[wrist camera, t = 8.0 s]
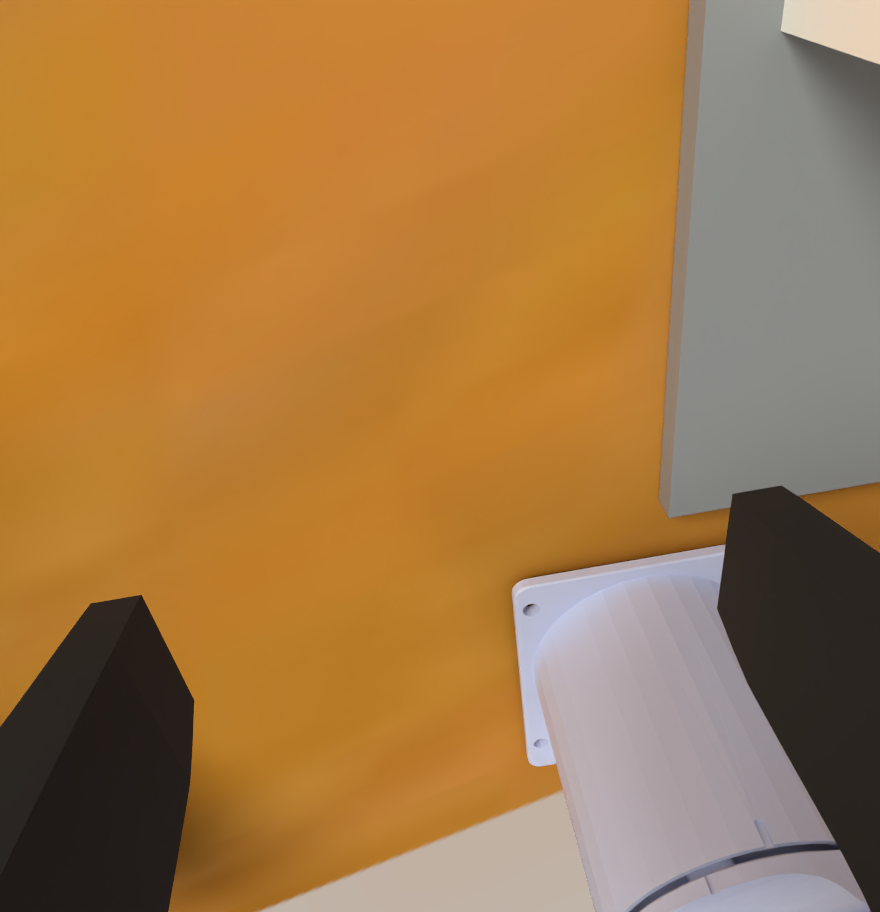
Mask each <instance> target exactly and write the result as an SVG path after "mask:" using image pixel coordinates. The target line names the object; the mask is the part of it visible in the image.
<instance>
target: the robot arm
mask: <svg viewBox="0 0 880 912" xmlns="http://www.w3.org/2000/svg"><path fill="white" fill-rule="evenodd" d="M512 601H513V612H514V622H515V633H516V644H517V655H518V665H519V676H520V687H521V698H522V709H523V719H524V730H525V741H526V752H527V757H528V761H529V763H530V764H532V765H534V766H546V765H551V764H556V765H557V769H558V772H559V776H560V780H561V784H562V788H563V791H564V795H565V799H566V803H567V807H568V810H569V814H570V818H571V821H572V825H573V829H574V832H575V837H576V840H577V844H578V848H579V852H580V855H581V860H582V863H583V867H584V871H585V875H586V878H587V882H588V886H589V890H590V894H591V897H592V901H593V905H594V909H595V912H880V553H879V552H877V551H876V550H874V549H873V548H871V547H870V546H869V545H867V544H866V543H864V542H863V541H861V540H860V539H859V538H857V537H856V536H854V535H853V534H851V533H850V532H848V531H847V530H846V529H844V528H843V527H841V526H840V525H838V524H837V523H836V522H834V521H833V520H831V519H830V518H828V517H827V516H826V515H824V514H823V513H821V512H820V511H818V510H817V509H816V508H814V507H813V506H811V505H810V504H808V503H807V502H806V501H804V500H803V499H801V498H800V497H798V496H797V495H795V494H794V493H792V492H791V491H789V490H788V489H786V488H785V487H783V486H782V485H781V486H775V487H769V488H763V489H758V490H752V491H746V492H740V493H734V494H732V500H731V508H730V515H729V523H728V530H727V538H726V544H724V545H718V546H713V547H707V548H701V549H695V550H690V551H684V552H678V553H672V554H666V555H661V556H655V557H649V558H643V559H637V560H632V561H626V562H620V563H614V564H609V565H603V566H597V567H591V568H585V569H580V570H574V571H568V572H562V573H556V574H551V575H545V576H539V577H533V578H527V579H524V580H521V581H520V582H518V583H517V584H516V585H515V586H514V587H513V589H512ZM529 604H534V605H531V606H527V605H529ZM193 714H194V699H193V697H192V695H191V693H190V691H189V689H188V687H187V685H186V683H185V681H184V679H183V677H182V675H181V673H180V671H179V669H178V667H177V665H176V663H175V661H174V659H173V657H172V655H171V653H170V651H169V649H168V647H167V645H166V643H165V641H164V639H163V637H162V635H161V633H160V631H159V629H158V627H157V625H156V623H155V621H154V619H153V617H152V615H151V613H150V611H149V609H148V607H147V605H146V603H145V601H144V599H143V597H142V595H139V596H133V597H127V598H121V599H115V600H109V601H104V602H98V603H92V604H90V605H89V607H88V608H87V609H86V611H85V612H84V613H83V615H82V616H81V617H80V619H79V620H78V621H77V623H76V624H75V625H74V627H73V628H72V629H71V631H70V632H69V634H68V635H67V636H66V638H65V639H64V640H63V642H62V643H61V644H60V646H59V647H58V649H57V650H56V651H55V653H54V654H53V655H52V657H51V658H50V660H49V661H48V662H47V664H46V665H45V667H44V668H43V669H42V671H41V672H40V673H39V675H38V676H37V678H36V679H35V680H34V682H33V683H32V684H31V686H30V687H29V689H28V690H27V691H26V693H25V694H24V695H23V697H22V698H21V700H20V701H19V702H18V704H17V705H16V706H15V708H14V709H13V711H12V712H11V713H10V715H9V716H8V717H7V719H6V720H5V721H4V723H3V724H2V725H1V727H0V912H168V909H169V903H170V898H171V892H172V886H173V881H174V875H175V869H176V864H177V858H178V852H179V846H180V840H181V834H182V828H183V823H184V817H185V811H186V805H187V798H188V792H189V786H190V776H191V759H192V742H193Z"/></svg>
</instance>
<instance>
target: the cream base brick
mask: <svg viewBox="0 0 880 912" xmlns="http://www.w3.org/2000/svg"><path fill="white" fill-rule="evenodd" d="M781 31H782V32H785V33H788V34H791V35H794V36H797V37H800V38H803V39H806V40H809V41H812V42H815V43H818V44H821V45H824V46H827V47H830V48H832V49H835V50H838V51H841V52H844V53H847V54H850V55H853V56H856V57H859V58H862V59H865V60H868V61H871V62H874V63H877V64H880V0H785V1H784V9H783V17H782V25H781Z"/></svg>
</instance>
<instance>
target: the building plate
mask: <svg viewBox="0 0 880 912" xmlns="http://www.w3.org/2000/svg"><path fill="white" fill-rule="evenodd" d="M784 1H785V0H690V2H689V19H688V35H687V51H686V67H685V83H684V99H683V116H682V132H681V148H680V164H679V180H678V196H677V213H676V229H675V245H674V261H673V277H672V293H671V310H670V326H669V342H668V358H667V374H666V390H665V407H664V423H663V439H662V455H661V471H660V487H659V501H660V503H661V505H662V507H663V509H664V511H665V513H666V514H667V516H668V518H672V517H678V516H684V515H689V514H695V513H701V512H707V511H713V510H719V509H724V508H730V507H731V500H732V494H734V493H740V492H746V491H752V490H758V489H763V488H769V487H775V486H781V485H782V486H783V487H785V488H786V489H788V490H789V491H791V492H792V493H794V494H795V495H797V496H800V495H806V494H812V493H818V492H823V491H829V490H835V489H841V488H847V487H853V486H858V485H864V484H870V483H876V482H880V64H877V63H874V62H871V61H868V60H865V59H862V58H859V57H856V56H853V55H850V54H847V53H844V52H841V51H838V50H835V49H832V48H830V47H827V46H824V45H821V44H818V43H815V42H812V41H809V40H806V39H803V38H800V37H797V36H794V35H791V34H788V33H785V32H782V31H781V25H782V17H783V9H784Z"/></svg>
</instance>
